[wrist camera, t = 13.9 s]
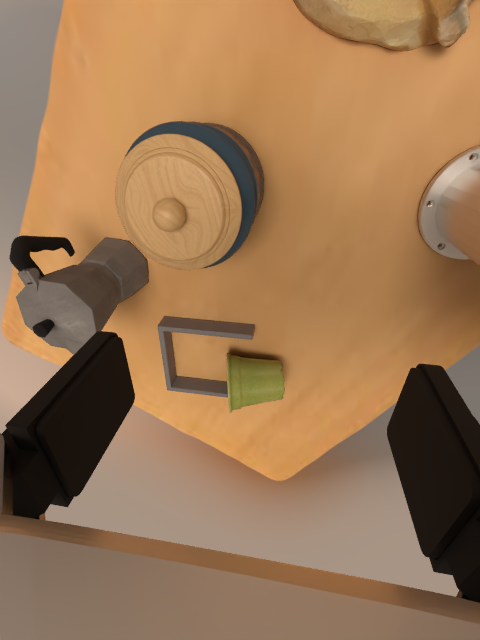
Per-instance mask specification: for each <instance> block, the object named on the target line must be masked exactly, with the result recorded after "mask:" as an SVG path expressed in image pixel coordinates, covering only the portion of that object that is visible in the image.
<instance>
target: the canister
mask: <svg viewBox="0 0 480 640" xmlns="http://www.w3.org/2000/svg"><path fill="white" fill-rule="evenodd" d="M263 193H264V178H263V172H262V168H261V164H260V162H259V159H258V157H257V155H256V153H255V151H254V150H253V148H252V147H251V146H250V144H249V143H248V142H247V141H246V140H245V139H244V138H243V137H242V136H241V135H240V134H238V133H237V132H235V131H234V130H232V129H230V128H228V127H225V126H223V125H219V124H213V123H199V122H183V121H175V122H167V123H163V124H160V125H157V126H155V127H153V128H151V129H149V130H147V131H146V132H144V133H143V134H142V135H141V136H140V137H139V138H138V139H137V140H136V141H135V142H134V143H133V144H132V146H131V147H130V149H129V150H128V152H127V154H126V156H125V158H124V161H123V162H122V164H121V167H120V169H119V172H118V175H117V180H116V187H115V198H116V206H117V211H118V214H119V217H120V220H121V223H122V225H123V227H124V229H125V231H126V233H127V234H128V236H129V237H130V239H131V240H132V241H133V243H134V244H135V245H136V246H137V247H138V248H139V249H140V250H141V251H142V252H143V253H144V254H145V255H147V256H148V257H149V258H151V259H152V260H154V261H156V262H158V263H160V264H162V265H164V266H167V267H170V268H174V269H180V270H194V269H200V268H207V267H211V266H214V265H217V264H219V263H221V262H223V261H225V260H227V259H228V258H230V257H231V256H232V255H233V254H234V253H235V252H236V251H237V250H238V249H239V248H240V247H241V246H242V244H243V243H244V241H245V240H246V238H247V236H248V234H249V231H250V229H251V226H252V224H253V222H254V219H255V217H256V215H257V213H258V211H259V208H260V206H261V203H262V199H263Z"/></svg>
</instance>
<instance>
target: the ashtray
mask: <svg viewBox="0 0 480 640" xmlns="http://www.w3.org/2000/svg"><path fill="white" fill-rule="evenodd" d="M293 1H294V3H295V4H296V6H297V8H298V9H299V11H300V12H301V13H302V14H303V15H304V16H305V17H306V18H307V19H308V20H310V21H311V22H312V23H314V24H315V25H316V26H318V27H319V28H321V29H322V30H324V31H326V32H327V33H329V34H331V35H334V36H337V37H340V38H344V39H349V40H355V41H359V42H365V43H371V44H378V45H380V46H383V47H386V48H389V49H392V50H395V51H409V50H413V49H416V48H419V47H422V46H426V45H431V44H435V43H438V42H439V43H440V44H441V45H442V46H444V47H446V48H447V47H450V46H451V45H453V44H454V43H455V42H456V41H457V40H458V39H459V38H460V36H461V35H462V34H463V33H465V32H466V29H467V28H468V26H469V24H470V17H469V10H468V6H469V5H470V3H471V2H472V1H473V0H293Z"/></svg>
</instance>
